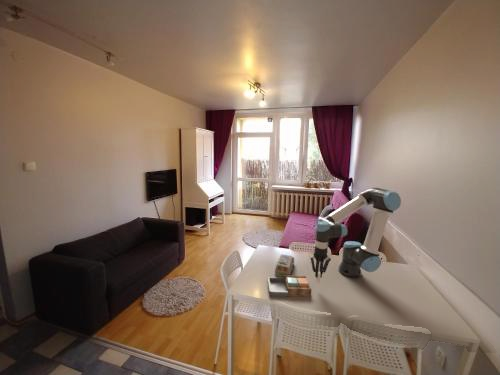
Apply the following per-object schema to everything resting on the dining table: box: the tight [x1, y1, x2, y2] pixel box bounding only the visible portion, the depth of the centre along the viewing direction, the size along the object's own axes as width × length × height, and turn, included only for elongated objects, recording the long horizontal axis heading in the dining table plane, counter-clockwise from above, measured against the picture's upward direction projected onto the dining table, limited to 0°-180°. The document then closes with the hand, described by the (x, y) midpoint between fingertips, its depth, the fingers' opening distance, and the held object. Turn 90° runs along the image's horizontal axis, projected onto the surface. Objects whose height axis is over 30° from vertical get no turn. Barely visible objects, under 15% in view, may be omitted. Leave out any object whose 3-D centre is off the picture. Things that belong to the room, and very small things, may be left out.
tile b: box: [287, 277, 298, 286], centre depth 142 cm, size 6×6×2 cm
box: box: [267, 276, 289, 298], centre depth 142 cm, size 11×16×3 cm
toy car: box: [274, 254, 295, 278], centre depth 164 cm, size 11×25×10 cm, turn 161°
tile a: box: [297, 277, 310, 286], centre depth 142 cm, size 6×6×2 cm
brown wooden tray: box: [284, 275, 312, 297], centre depth 142 cm, size 14×14×5 cm
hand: (317, 281), depth 142 cm, fingers closed
